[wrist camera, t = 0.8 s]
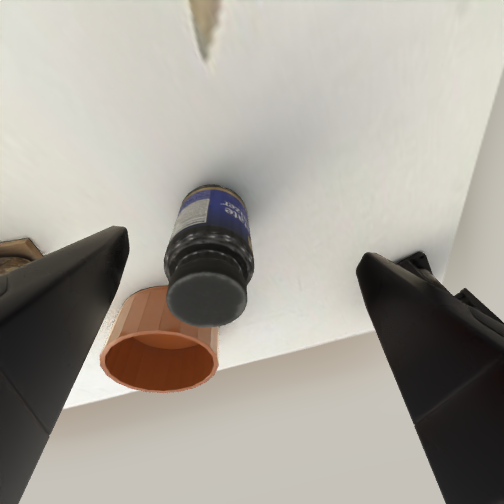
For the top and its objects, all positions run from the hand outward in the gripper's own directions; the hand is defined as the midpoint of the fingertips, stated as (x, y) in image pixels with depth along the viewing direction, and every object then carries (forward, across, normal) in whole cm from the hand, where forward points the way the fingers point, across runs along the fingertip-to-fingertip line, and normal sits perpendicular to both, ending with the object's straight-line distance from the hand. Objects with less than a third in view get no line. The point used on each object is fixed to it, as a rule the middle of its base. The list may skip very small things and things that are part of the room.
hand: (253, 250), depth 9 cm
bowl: (+14, +6, +21) cm, 26 cm away
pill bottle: (+14, +2, +6) cm, 15 cm away
